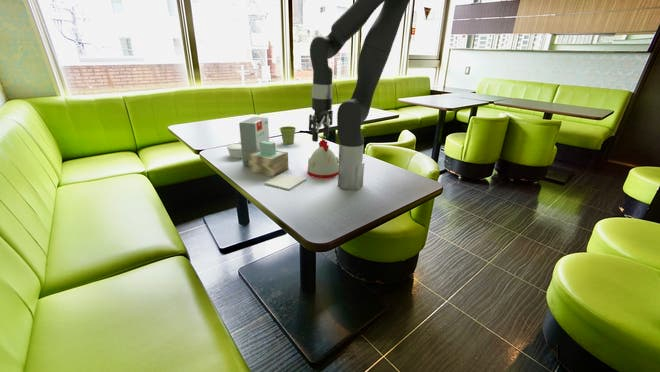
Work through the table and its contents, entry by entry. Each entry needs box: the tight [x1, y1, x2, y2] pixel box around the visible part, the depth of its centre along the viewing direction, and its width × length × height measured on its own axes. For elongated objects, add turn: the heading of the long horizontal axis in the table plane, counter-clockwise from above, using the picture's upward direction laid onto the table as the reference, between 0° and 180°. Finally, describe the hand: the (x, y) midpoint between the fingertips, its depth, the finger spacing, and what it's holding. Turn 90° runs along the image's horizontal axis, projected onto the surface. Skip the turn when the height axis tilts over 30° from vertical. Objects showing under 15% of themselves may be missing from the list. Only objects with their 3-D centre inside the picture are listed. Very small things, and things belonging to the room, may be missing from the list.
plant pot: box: [279, 126, 297, 145], centre depth 172 cm, size 9×9×9 cm
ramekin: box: [227, 142, 242, 159], centre depth 150 cm, size 11×11×5 cm
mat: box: [263, 172, 307, 191], centre depth 121 cm, size 12×12×1 cm
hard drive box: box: [238, 116, 270, 167], centre depth 140 cm, size 16×8×20 cm, turn 168°
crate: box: [248, 149, 289, 178], centre depth 131 cm, size 13×11×8 cm
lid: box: [253, 140, 283, 158], centre depth 129 cm, size 11×9×6 cm
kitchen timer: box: [307, 138, 339, 180], centre depth 129 cm, size 14×14×15 cm
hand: (320, 138), depth 118 cm, fingers open, 8 cm apart
